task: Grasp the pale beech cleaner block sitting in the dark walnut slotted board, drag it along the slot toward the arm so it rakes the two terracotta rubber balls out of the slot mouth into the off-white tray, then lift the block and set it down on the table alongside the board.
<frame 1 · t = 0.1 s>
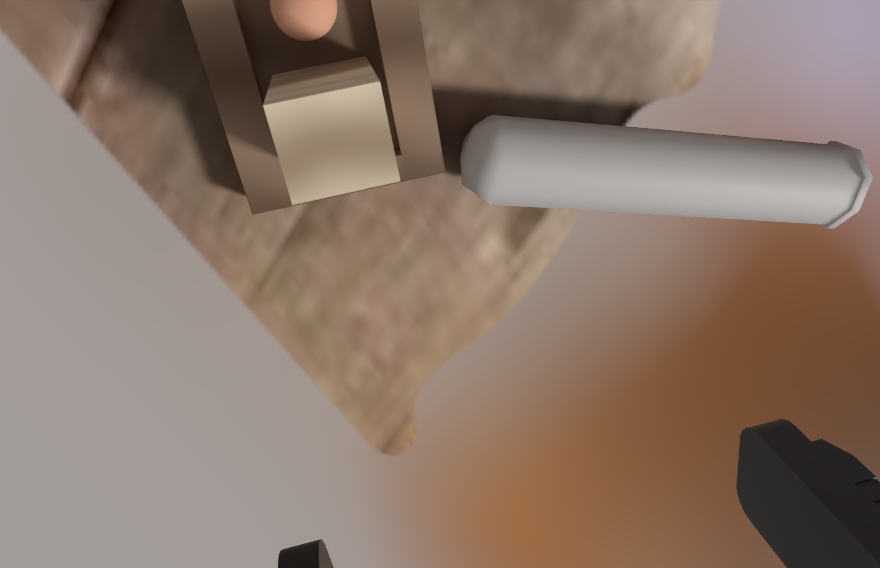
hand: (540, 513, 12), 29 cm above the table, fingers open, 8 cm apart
tube: (640, 160, 41), on the table
ball a: (304, 3, 33), point 1 cm above the table, touching slot board
cleaner block: (329, 107, 35), point 1 cm above the table, touching slot board
slot board: (313, 38, 34), on the table
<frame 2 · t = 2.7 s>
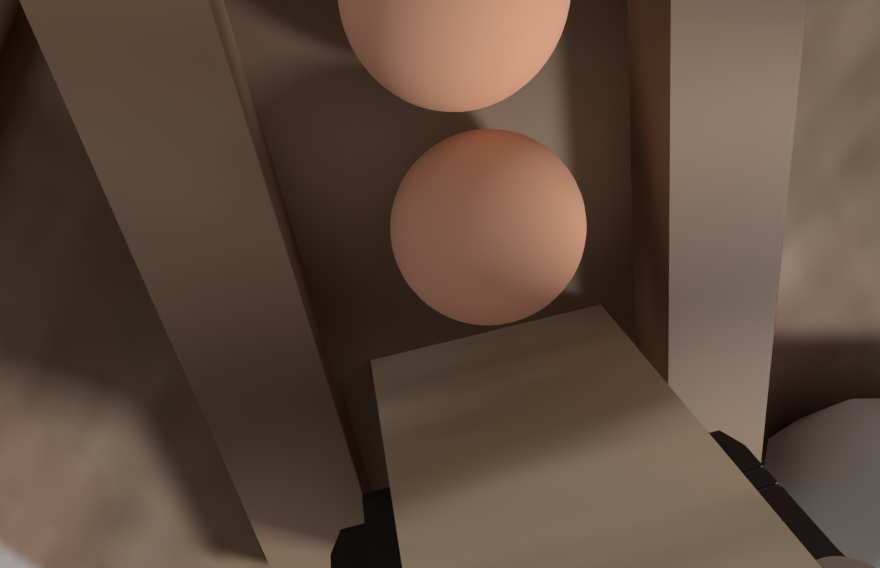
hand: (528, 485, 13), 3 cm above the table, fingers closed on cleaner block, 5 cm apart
ball a: (466, 196, 12), point 1 cm above the table, touching slot board
cleaner block: (500, 414, 14), point 1 cm above the table, touching gripper, slot board
slot board: (468, 259, 14), on the table
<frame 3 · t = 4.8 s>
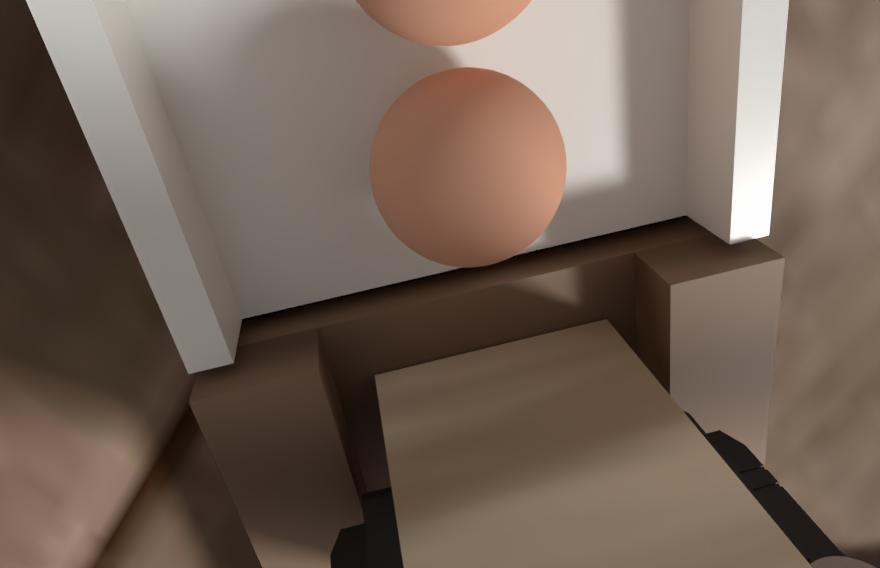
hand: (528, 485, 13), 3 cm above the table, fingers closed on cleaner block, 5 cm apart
ball a: (445, 80, 11), point 1 cm above the table, tilted 54°, touching tray
tray: (432, 47, 11), on the table
cleaner block: (504, 429, 14), point 1 cm above the table, touching gripper
slot board: (510, 528, 17), on the table
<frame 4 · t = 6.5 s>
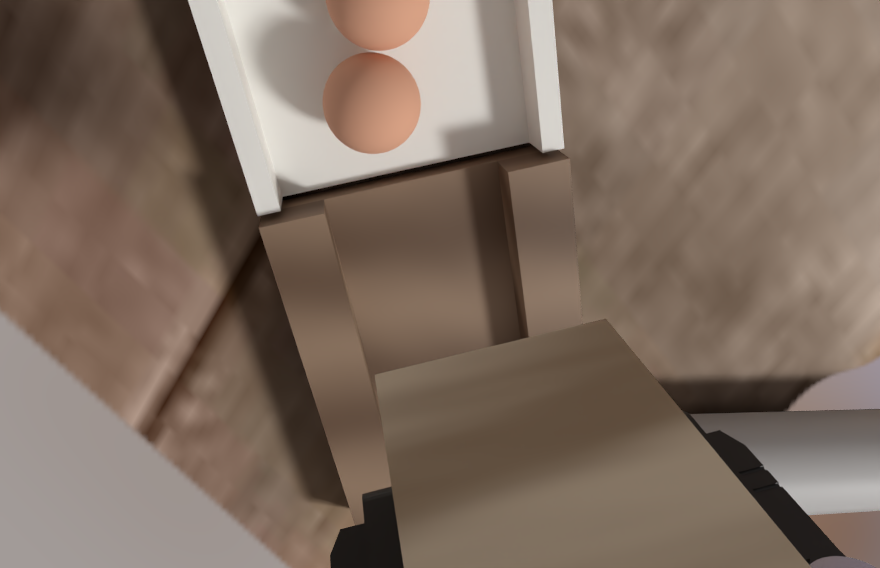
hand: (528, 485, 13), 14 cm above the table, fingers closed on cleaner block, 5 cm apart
tube: (808, 429, 35), on the table
ball a: (378, 62, 21), point 1 cm above the table, tilted 49°, touching tray
tray: (383, 48, 22), on the table
cleaner block: (504, 428, 14), point 12 cm above the table, touching gripper
slot board: (442, 347, 28), on the table
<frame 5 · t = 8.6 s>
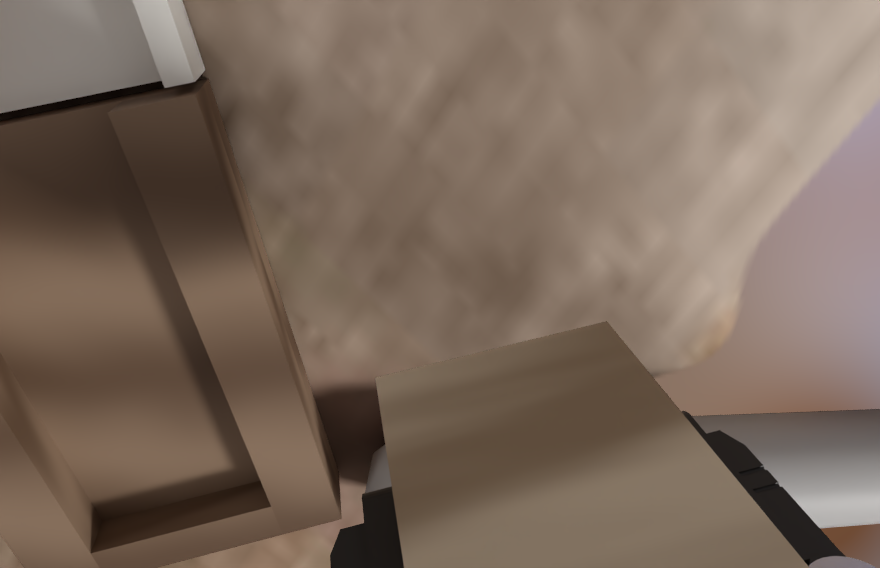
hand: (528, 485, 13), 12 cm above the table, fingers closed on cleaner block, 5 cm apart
tube: (636, 438, 29), on the table
cleaner block: (505, 431, 14), point 10 cm above the table, touching gripper
slot board: (127, 345, 22), on the table
when the fingers open (4 cm above the table, at t = 10.4 s): cleaner block drops 2 cm, on the table.
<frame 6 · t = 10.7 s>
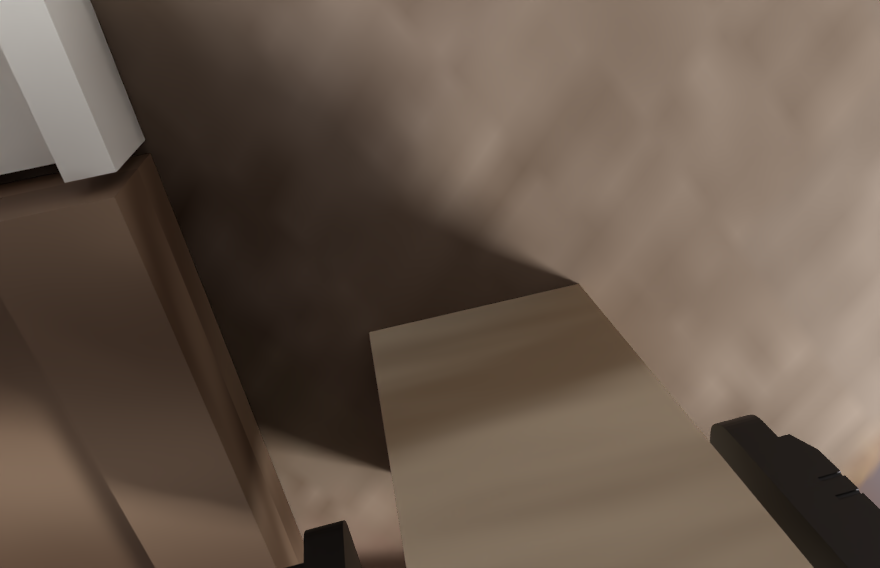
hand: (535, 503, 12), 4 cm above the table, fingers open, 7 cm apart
cleaner block: (487, 384, 16), on the table
slot board: (44, 524, 15), on the table
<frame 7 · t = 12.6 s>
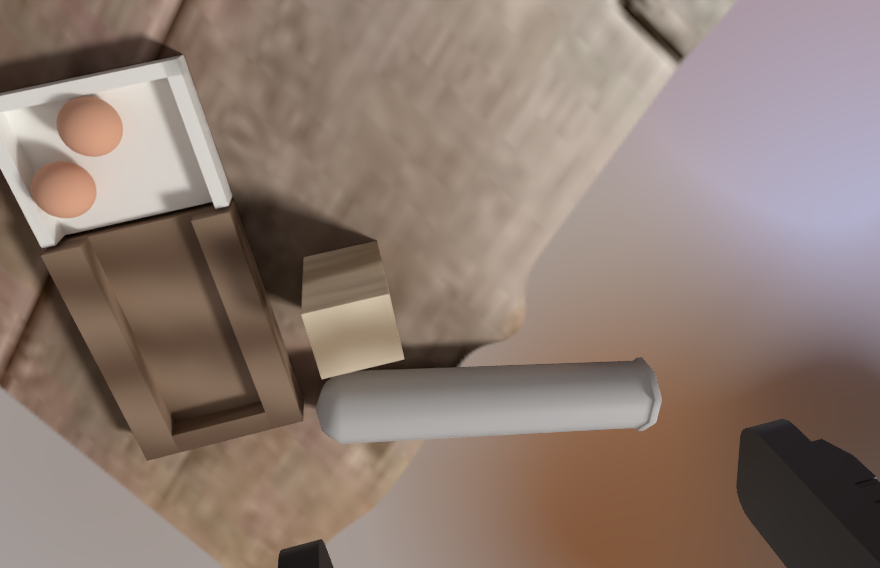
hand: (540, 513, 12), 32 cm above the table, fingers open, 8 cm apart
ball b: (94, 106, 36), point 1 cm above the table, tilted 33°, touching tray
tube: (479, 381, 50), on the table
ball a: (77, 168, 36), point 2 cm above the table, tilted 95°, touching tray
tray: (116, 149, 38), on the table
cleaner block: (348, 278, 44), on the table
slot board: (191, 327, 43), on the table
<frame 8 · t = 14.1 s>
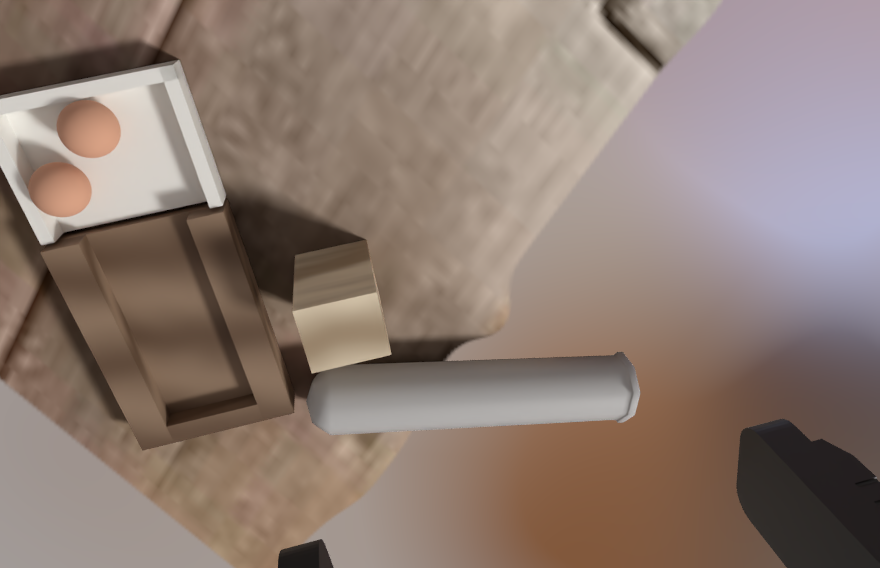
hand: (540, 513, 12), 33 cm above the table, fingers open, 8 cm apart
ball b: (93, 108, 37), point 1 cm above the table, tilted 33°, touching tray
tube: (465, 374, 52), on the table
ball a: (72, 169, 37), point 2 cm above the table, tilted 99°, touching tray
tray: (113, 149, 39), on the table
cleaner block: (338, 275, 45), on the table
slot board: (185, 321, 45), on the table
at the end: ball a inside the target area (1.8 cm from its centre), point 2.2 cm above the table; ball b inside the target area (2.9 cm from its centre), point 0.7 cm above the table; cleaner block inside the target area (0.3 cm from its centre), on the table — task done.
